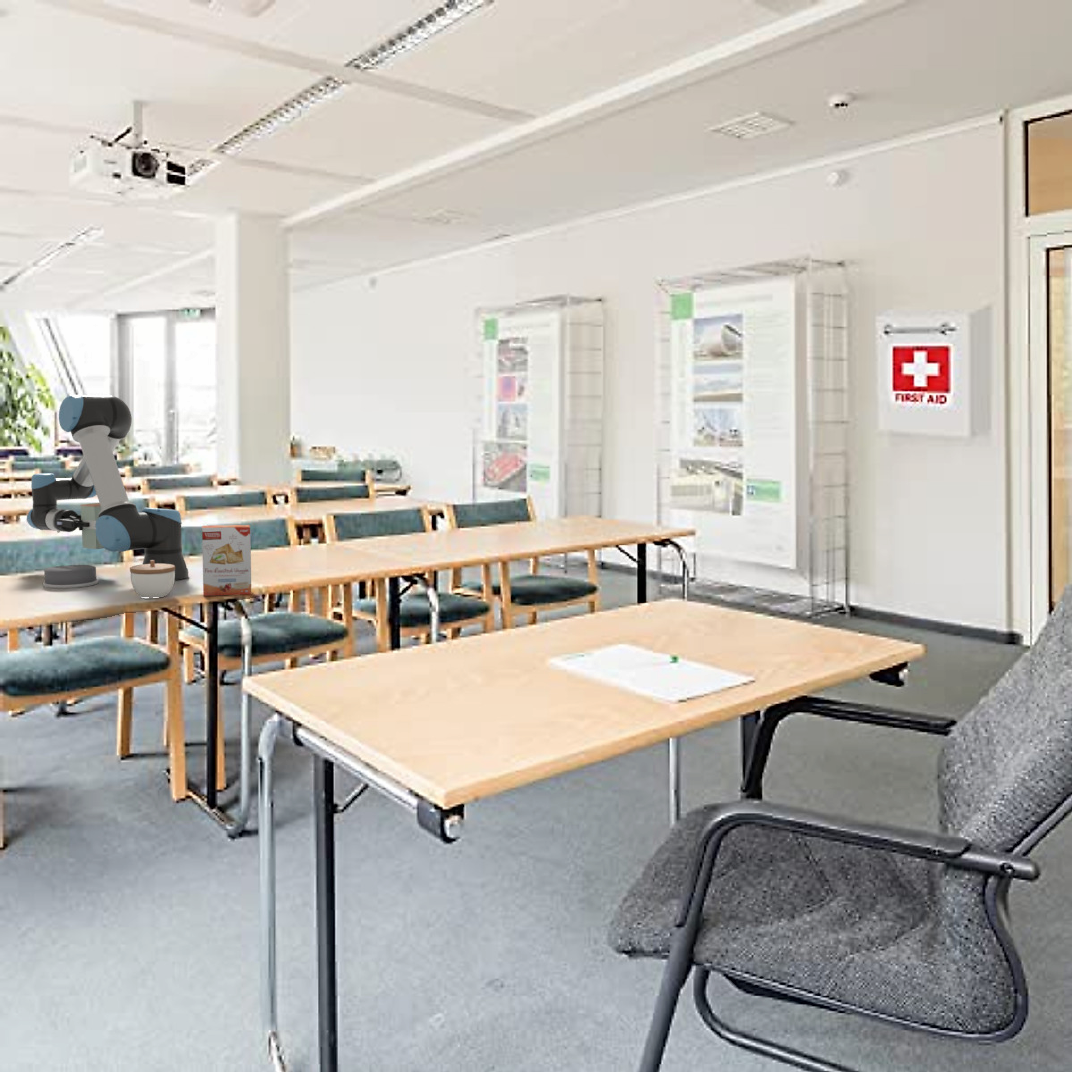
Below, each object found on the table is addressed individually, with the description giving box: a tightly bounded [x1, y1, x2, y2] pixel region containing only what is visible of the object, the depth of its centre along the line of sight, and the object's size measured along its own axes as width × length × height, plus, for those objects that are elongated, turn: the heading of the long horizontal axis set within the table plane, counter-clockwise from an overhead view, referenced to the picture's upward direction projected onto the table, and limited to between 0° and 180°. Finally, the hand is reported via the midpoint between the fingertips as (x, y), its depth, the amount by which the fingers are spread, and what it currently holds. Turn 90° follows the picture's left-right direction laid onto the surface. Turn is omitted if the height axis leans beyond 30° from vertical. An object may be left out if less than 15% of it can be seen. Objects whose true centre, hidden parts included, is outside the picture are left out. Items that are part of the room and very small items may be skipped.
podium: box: [42, 564, 99, 589], centre depth 332 cm, size 16×16×5 cm
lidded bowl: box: [129, 560, 176, 598], centre depth 310 cm, size 13×13×11 cm
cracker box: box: [201, 524, 252, 597], centre depth 315 cm, size 14×6×21 cm, turn 105°
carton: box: [80, 502, 104, 550], centre depth 347 cm, size 7×7×14 cm
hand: (107, 524), depth 345 cm, fingers closed on carton, 7 cm apart
